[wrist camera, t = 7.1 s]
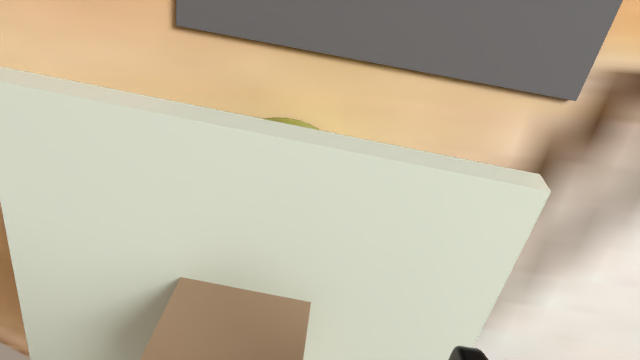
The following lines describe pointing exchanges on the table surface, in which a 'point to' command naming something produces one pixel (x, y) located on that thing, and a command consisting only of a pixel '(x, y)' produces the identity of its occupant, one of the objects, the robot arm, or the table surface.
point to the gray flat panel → (430, 35)
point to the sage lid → (242, 233)
